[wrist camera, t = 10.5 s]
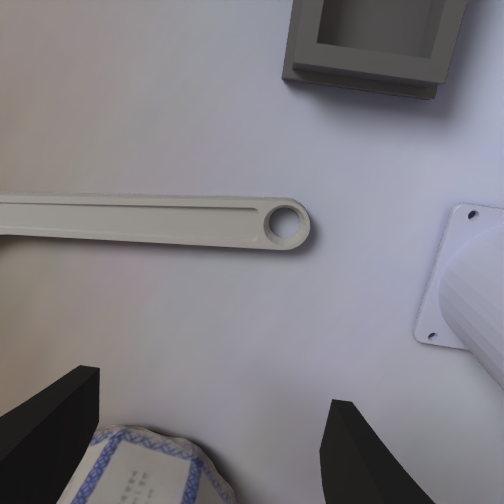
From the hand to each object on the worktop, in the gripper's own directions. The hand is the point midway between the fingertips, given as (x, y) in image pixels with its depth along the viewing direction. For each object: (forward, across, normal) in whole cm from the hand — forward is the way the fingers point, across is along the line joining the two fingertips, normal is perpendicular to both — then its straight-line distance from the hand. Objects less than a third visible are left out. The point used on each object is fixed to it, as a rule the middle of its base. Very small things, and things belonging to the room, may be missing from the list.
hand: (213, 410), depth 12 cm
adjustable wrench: (+12, +9, -2) cm, 15 cm away
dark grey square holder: (+10, -4, -14) cm, 18 cm away
